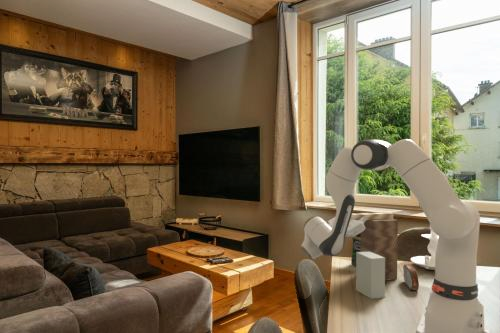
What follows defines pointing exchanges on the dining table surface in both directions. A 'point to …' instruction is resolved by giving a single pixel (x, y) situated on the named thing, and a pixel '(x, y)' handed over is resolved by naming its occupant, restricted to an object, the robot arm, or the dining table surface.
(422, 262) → the candlestick
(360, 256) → the pedestal
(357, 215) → the beech bar
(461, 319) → the robot arm
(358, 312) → the dining table surface
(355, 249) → the coffee jar
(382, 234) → the tall stand
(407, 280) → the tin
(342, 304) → the dining table surface
